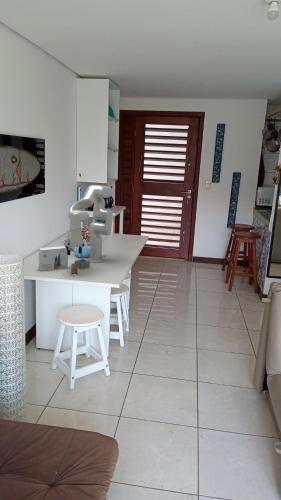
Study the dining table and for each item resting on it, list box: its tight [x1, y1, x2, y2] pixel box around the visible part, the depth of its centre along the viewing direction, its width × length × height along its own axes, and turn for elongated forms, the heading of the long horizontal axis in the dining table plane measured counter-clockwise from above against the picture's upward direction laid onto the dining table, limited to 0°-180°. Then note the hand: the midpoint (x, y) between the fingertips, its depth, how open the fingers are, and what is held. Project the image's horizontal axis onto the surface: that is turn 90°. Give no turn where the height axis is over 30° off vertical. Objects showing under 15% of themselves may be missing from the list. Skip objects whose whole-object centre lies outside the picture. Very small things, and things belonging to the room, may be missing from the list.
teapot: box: [72, 242, 90, 259], centre depth 314 cm, size 15×15×10 cm
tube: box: [74, 258, 93, 272], centre depth 283 cm, size 11×11×5 cm
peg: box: [70, 262, 79, 275], centre depth 268 cm, size 4×4×7 cm
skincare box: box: [37, 245, 69, 272], centre depth 275 cm, size 21×6×16 cm, turn 126°
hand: (74, 254), depth 265 cm, fingers open, 9 cm apart
